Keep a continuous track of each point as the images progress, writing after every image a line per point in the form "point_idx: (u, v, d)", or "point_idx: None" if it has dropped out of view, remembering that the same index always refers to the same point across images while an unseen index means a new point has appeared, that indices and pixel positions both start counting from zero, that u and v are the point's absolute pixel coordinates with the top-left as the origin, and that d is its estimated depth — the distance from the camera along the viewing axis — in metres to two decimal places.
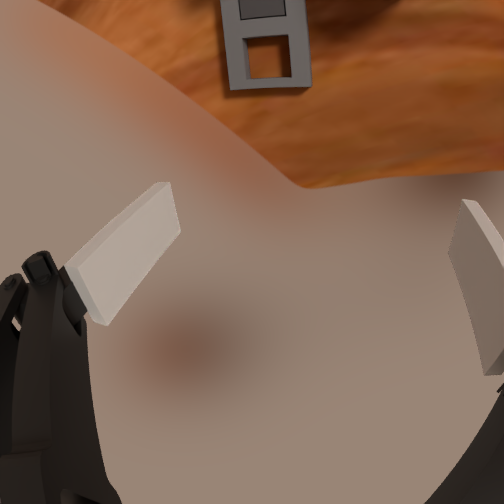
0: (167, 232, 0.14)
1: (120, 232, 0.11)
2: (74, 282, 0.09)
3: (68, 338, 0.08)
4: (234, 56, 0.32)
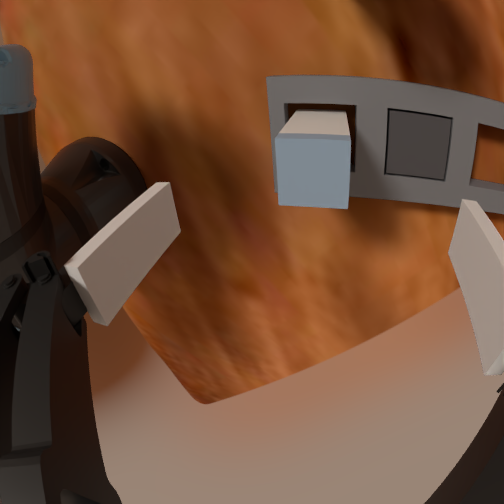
0: (167, 232, 0.14)
1: (120, 232, 0.11)
2: (74, 282, 0.09)
3: (68, 338, 0.08)
4: (487, 201, 0.21)
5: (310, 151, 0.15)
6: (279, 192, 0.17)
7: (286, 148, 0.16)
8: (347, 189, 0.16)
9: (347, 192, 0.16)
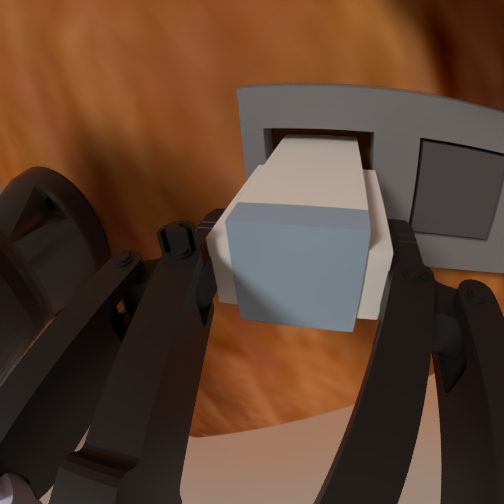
0: None
1: None
2: (213, 257, 0.10)
3: (192, 330, 0.08)
4: None
5: (291, 246, 0.09)
6: (240, 303, 0.10)
7: (246, 239, 0.09)
8: (355, 307, 0.09)
9: (354, 311, 0.09)
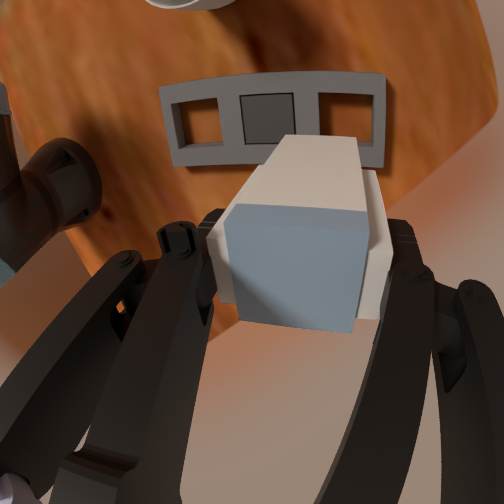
0: None
1: None
2: (213, 257, 0.10)
3: (192, 330, 0.08)
4: None
5: (290, 248, 0.09)
6: (238, 304, 0.10)
7: (244, 240, 0.09)
8: (354, 308, 0.09)
9: (353, 312, 0.09)
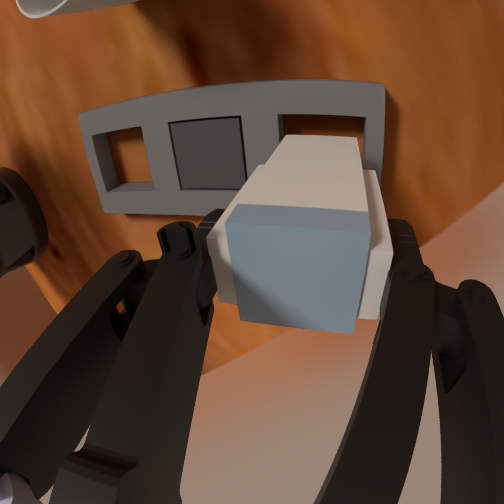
0: None
1: None
2: (213, 257, 0.10)
3: (192, 330, 0.08)
4: None
5: (291, 248, 0.08)
6: (239, 304, 0.10)
7: (246, 241, 0.09)
8: (355, 308, 0.09)
9: (354, 312, 0.09)
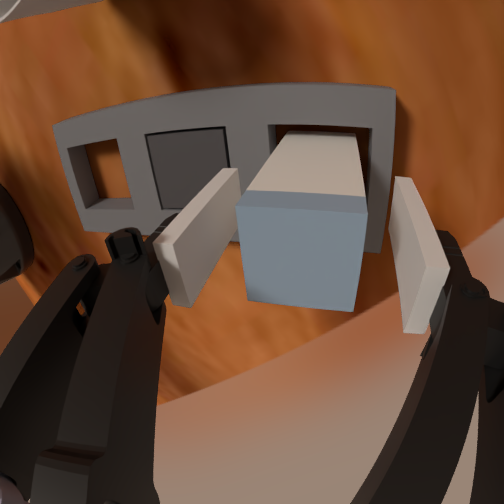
0: (235, 217, 0.14)
1: (204, 212, 0.11)
2: (161, 261, 0.10)
3: (145, 328, 0.08)
4: None
5: (296, 229, 0.09)
6: (247, 284, 0.11)
7: (254, 223, 0.10)
8: (355, 286, 0.10)
9: (354, 290, 0.10)
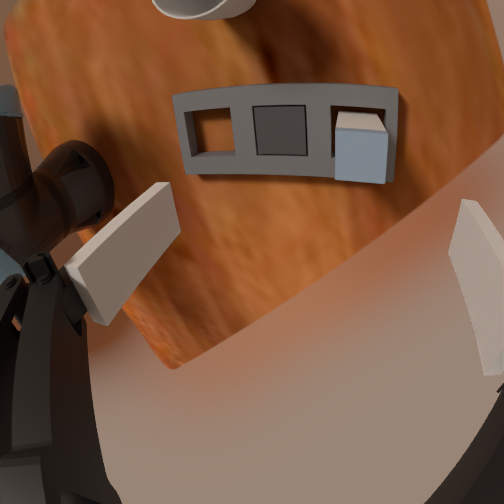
0: (167, 232, 0.14)
1: (120, 232, 0.11)
2: (74, 282, 0.09)
3: (68, 338, 0.08)
4: None
5: (360, 141, 0.21)
6: (336, 170, 0.22)
7: (342, 138, 0.21)
8: (384, 169, 0.21)
9: (384, 171, 0.21)
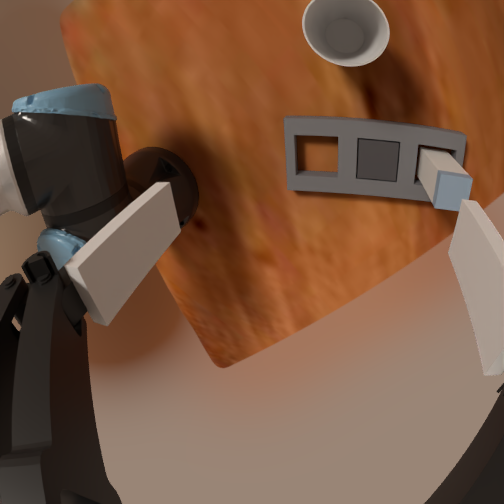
0: (167, 232, 0.14)
1: (120, 232, 0.11)
2: (74, 282, 0.09)
3: (68, 338, 0.08)
4: None
5: (455, 182, 0.26)
6: (436, 201, 0.28)
7: (444, 179, 0.26)
8: None
9: None
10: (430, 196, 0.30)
